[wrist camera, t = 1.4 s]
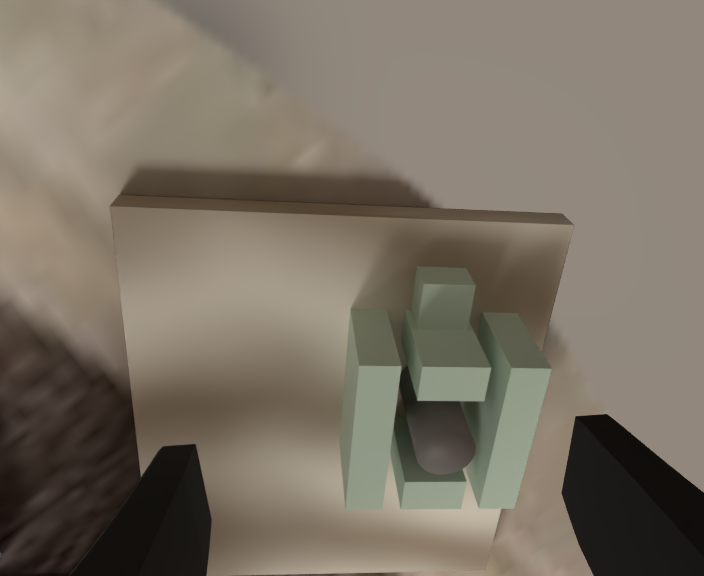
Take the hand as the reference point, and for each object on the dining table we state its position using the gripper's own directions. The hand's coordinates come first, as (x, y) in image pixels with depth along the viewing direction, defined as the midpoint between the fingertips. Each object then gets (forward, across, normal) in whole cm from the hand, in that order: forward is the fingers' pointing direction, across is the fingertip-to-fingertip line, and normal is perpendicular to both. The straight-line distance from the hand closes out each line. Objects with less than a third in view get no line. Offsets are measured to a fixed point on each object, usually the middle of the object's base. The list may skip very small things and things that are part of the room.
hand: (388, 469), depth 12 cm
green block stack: (+8, -2, +5) cm, 10 cm away
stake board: (+10, +1, +6) cm, 11 cm away
